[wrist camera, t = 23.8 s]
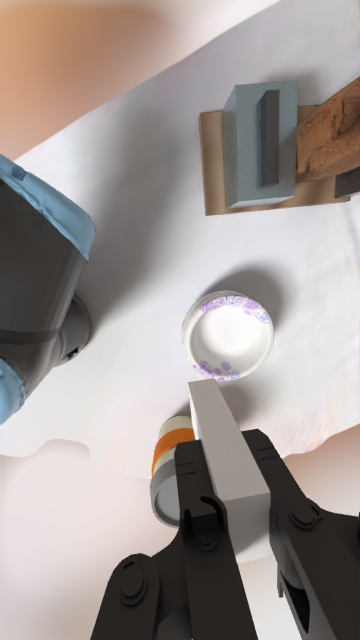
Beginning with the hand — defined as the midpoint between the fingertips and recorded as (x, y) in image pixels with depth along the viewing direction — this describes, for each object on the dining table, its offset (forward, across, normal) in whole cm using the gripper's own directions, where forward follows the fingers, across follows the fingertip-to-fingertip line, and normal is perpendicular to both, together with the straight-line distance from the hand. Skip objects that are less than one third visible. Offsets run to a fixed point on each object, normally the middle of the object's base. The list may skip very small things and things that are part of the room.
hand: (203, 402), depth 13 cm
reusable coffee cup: (+33, -1, -30) cm, 44 cm away
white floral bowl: (+33, +9, -7) cm, 35 cm away
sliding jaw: (+31, +15, +20) cm, 39 cm away
